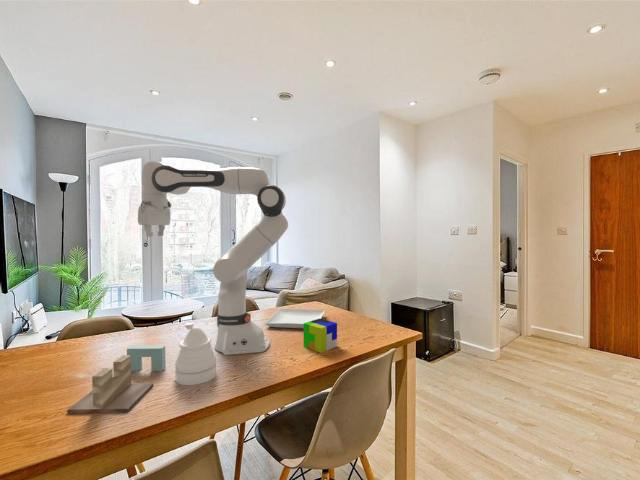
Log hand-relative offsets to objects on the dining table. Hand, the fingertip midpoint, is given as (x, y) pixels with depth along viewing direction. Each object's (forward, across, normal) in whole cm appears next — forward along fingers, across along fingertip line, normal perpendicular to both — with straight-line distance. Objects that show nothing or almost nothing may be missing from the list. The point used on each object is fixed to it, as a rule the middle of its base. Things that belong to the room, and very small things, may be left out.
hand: (155, 236), depth 130 cm
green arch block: (+46, -20, -6) cm, 51 cm away
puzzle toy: (+47, 0, -68) cm, 82 cm away
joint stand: (+46, -39, -6) cm, 61 cm away
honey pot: (+47, -25, -25) cm, 58 cm away
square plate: (+47, +35, -56) cm, 81 cm away
